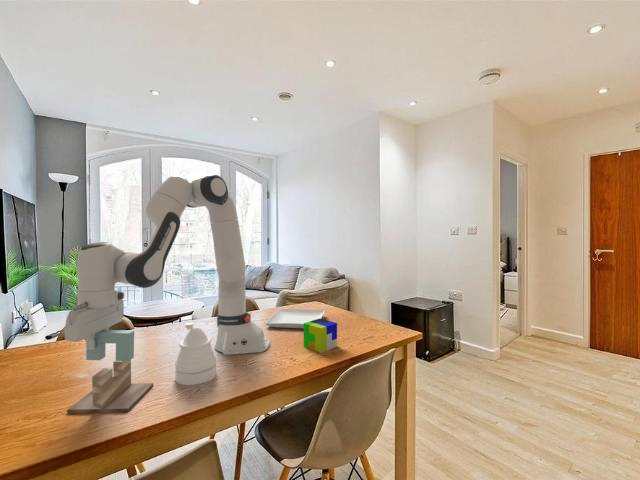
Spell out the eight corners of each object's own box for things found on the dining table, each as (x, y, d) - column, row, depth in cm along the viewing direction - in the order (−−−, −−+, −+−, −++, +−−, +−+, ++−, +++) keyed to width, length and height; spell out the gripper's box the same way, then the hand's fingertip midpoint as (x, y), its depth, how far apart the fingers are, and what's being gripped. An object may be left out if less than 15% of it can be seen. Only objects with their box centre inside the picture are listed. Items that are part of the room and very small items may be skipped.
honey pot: (175, 388, 99) (174, 331, 98) (175, 371, 111) (175, 320, 110) (218, 380, 104) (217, 326, 103) (214, 364, 116) (213, 316, 115)
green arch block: (133, 357, 94) (134, 330, 93) (129, 360, 91) (129, 333, 91) (92, 356, 93) (92, 329, 93) (86, 360, 91) (86, 332, 90)
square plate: (278, 314, 184) (278, 308, 184) (325, 316, 180) (325, 309, 180) (264, 329, 157) (264, 321, 157) (318, 332, 153) (318, 324, 153)
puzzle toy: (337, 346, 134) (337, 323, 134) (320, 353, 127) (321, 328, 127) (319, 340, 141) (319, 318, 141) (303, 346, 134) (303, 323, 133)
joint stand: (153, 386, 100) (152, 355, 100) (128, 412, 86) (127, 375, 86) (101, 387, 99) (100, 355, 99) (67, 413, 85) (66, 376, 85)
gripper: (81, 307, 81) (82, 361, 82) (127, 291, 102) (128, 334, 102) (56, 307, 81) (57, 361, 81) (107, 291, 101) (108, 334, 102)
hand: (97, 346), depth 92 cm, fingers closed on green arch block, 2 cm apart
